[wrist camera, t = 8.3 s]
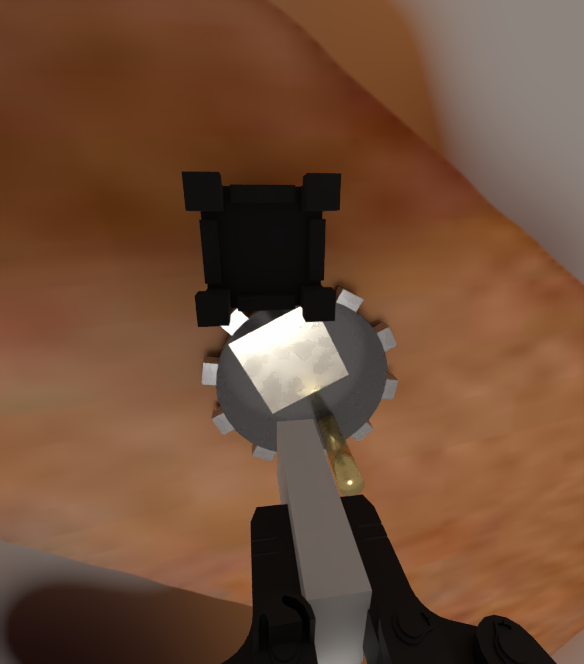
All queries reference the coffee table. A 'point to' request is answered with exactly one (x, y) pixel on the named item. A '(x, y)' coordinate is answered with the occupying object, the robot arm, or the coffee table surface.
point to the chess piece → (262, 245)
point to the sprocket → (303, 379)
